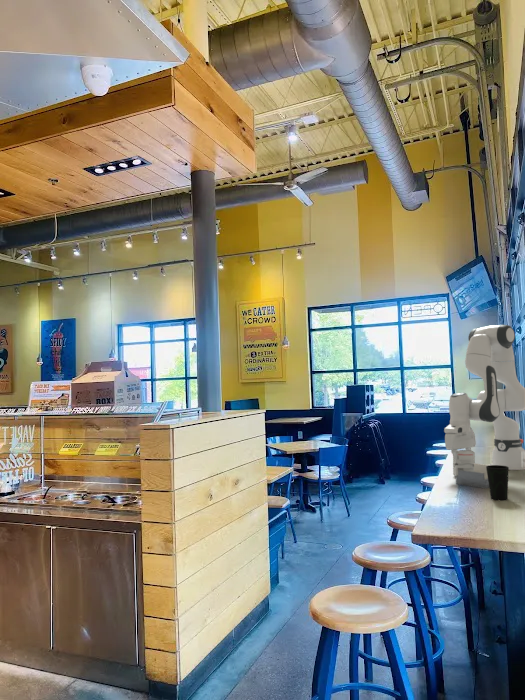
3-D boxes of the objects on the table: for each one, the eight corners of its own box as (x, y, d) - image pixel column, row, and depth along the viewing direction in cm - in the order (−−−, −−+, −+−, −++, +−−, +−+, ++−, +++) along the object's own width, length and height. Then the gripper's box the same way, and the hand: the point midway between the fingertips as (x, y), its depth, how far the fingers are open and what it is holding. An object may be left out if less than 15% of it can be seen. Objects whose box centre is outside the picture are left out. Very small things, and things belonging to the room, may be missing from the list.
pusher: (476, 479, 227) (475, 463, 227) (499, 482, 219) (498, 465, 219) (470, 480, 224) (469, 464, 224) (493, 484, 216) (492, 467, 216)
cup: (513, 501, 186) (511, 468, 187) (490, 501, 188) (488, 468, 188) (507, 497, 194) (505, 465, 194) (485, 496, 195) (484, 465, 196)
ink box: (471, 475, 237) (471, 449, 237) (475, 477, 232) (475, 451, 232) (452, 474, 238) (452, 449, 238) (455, 477, 233) (455, 451, 233)
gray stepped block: (475, 478, 229) (474, 465, 230) (505, 482, 219) (504, 468, 219) (456, 484, 219) (455, 470, 220) (486, 488, 209) (485, 473, 209)
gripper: (465, 426, 245) (467, 455, 244) (441, 429, 232) (443, 459, 231) (478, 427, 240) (479, 456, 239) (454, 429, 227) (456, 461, 226)
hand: (461, 458), depth 235 cm, fingers open, 8 cm apart
